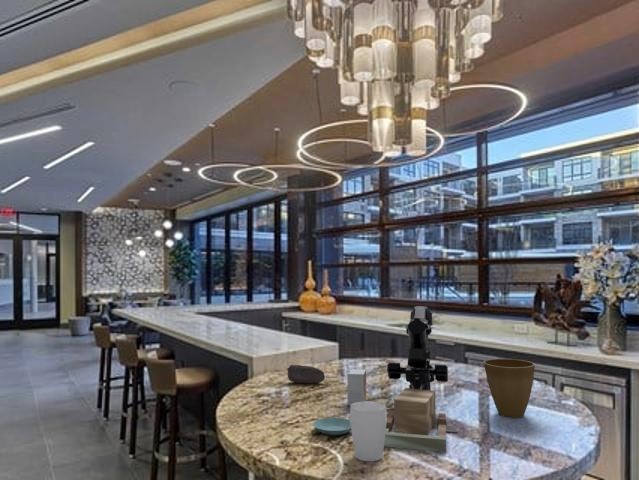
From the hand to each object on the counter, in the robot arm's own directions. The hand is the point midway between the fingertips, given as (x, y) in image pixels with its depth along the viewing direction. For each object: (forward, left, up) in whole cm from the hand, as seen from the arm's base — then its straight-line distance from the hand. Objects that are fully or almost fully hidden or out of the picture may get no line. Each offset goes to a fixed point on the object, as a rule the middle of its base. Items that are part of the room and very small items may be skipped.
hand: (416, 395), depth 146 cm
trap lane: (+7, +10, -7) cm, 14 cm away
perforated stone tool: (+17, -55, -7) cm, 58 cm away
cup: (+27, +21, -7) cm, 35 cm away
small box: (+10, -22, -7) cm, 25 cm away
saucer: (+28, +1, -7) cm, 29 cm away
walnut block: (+4, +6, -7) cm, 10 cm away
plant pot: (-29, +7, -7) cm, 31 cm away
